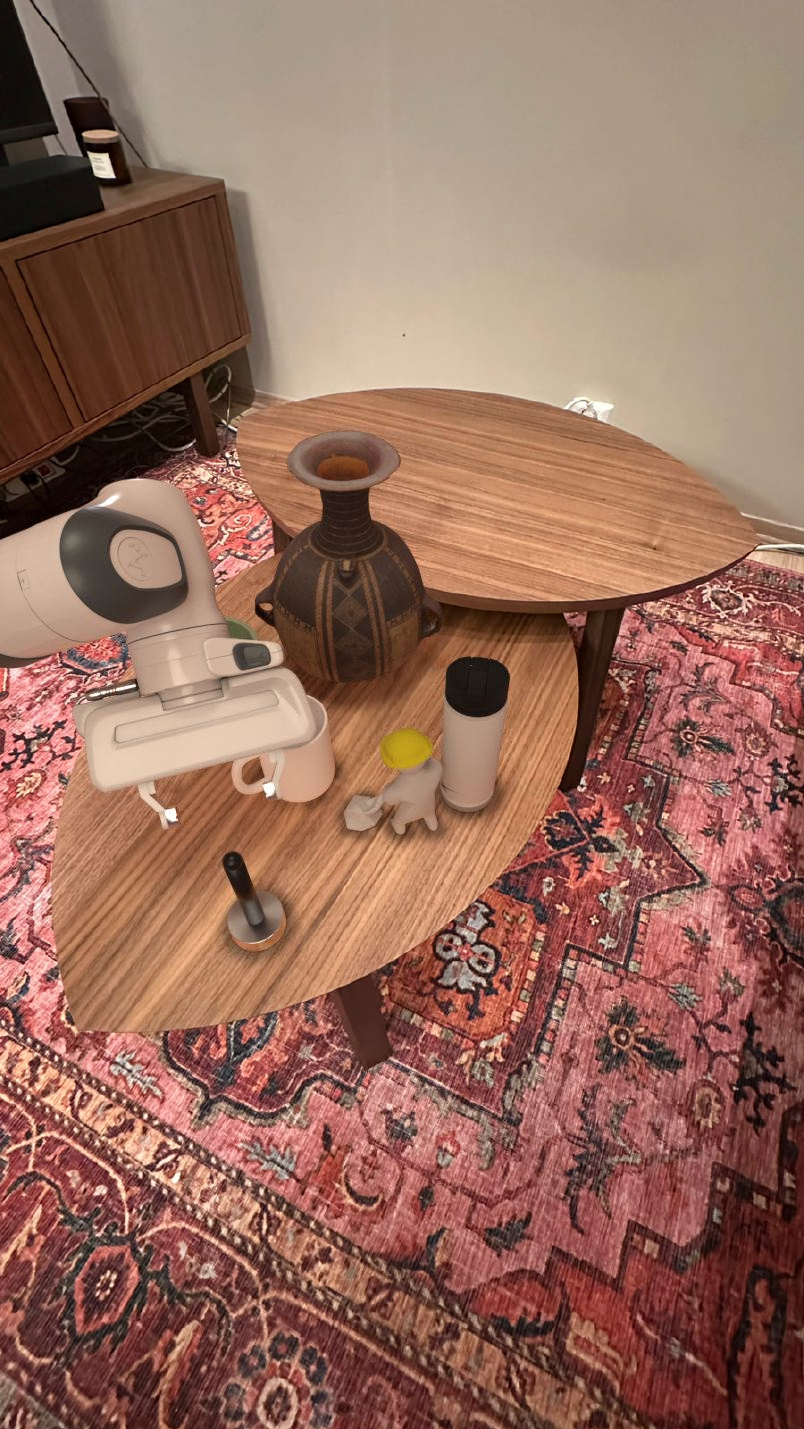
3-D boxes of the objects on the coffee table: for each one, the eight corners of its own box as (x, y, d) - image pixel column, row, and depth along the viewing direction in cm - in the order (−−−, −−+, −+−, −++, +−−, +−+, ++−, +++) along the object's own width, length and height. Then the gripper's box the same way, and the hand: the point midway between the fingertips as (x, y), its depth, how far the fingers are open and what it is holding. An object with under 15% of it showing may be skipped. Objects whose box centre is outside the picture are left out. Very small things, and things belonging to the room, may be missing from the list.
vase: (248, 684, 92) (193, 480, 69) (314, 598, 103) (286, 398, 80) (406, 734, 86) (403, 528, 63) (458, 636, 97) (471, 432, 74)
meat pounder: (241, 961, 67) (208, 897, 56) (223, 913, 70) (189, 844, 60) (294, 935, 69) (272, 868, 58) (274, 890, 72) (250, 818, 61)
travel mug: (436, 812, 78) (440, 693, 63) (443, 765, 82) (449, 644, 67) (490, 819, 77) (509, 701, 62) (495, 772, 81) (513, 651, 66)
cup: (349, 781, 81) (342, 726, 73) (260, 834, 76) (242, 781, 69) (312, 737, 85) (302, 681, 78) (226, 785, 81) (205, 731, 73)
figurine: (399, 768, 82) (396, 681, 71) (453, 815, 78) (460, 731, 66) (333, 816, 78) (319, 733, 66) (387, 870, 73) (382, 790, 62)
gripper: (56, 694, 57) (100, 852, 58) (297, 640, 61) (334, 789, 62) (76, 693, 63) (115, 836, 64) (294, 644, 67) (327, 780, 68)
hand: (224, 813), depth 63 cm, fingers open, 8 cm apart
